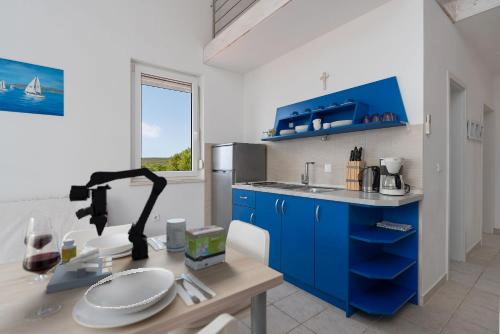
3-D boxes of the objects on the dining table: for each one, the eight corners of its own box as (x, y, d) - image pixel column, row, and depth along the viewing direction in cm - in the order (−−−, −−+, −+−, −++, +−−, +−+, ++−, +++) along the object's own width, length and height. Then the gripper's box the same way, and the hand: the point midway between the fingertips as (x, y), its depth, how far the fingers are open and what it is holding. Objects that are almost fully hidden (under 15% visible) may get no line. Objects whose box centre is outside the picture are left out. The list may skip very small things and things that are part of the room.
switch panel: (111, 262, 108) (111, 249, 108) (112, 279, 91) (112, 264, 91) (57, 271, 98) (57, 257, 98) (47, 293, 82) (46, 276, 82)
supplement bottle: (68, 264, 106) (68, 242, 105) (58, 263, 107) (57, 241, 107) (79, 259, 111) (79, 238, 111) (69, 259, 112) (69, 237, 112)
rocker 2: (99, 257, 99) (98, 253, 99) (98, 260, 96) (97, 255, 96) (69, 266, 94) (68, 262, 94) (67, 270, 91) (66, 266, 91)
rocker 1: (99, 251, 104) (98, 247, 104) (99, 254, 101) (97, 250, 101) (72, 262, 99) (70, 258, 99) (70, 265, 96) (69, 261, 96)
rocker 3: (97, 268, 94) (98, 263, 94) (97, 271, 90) (98, 266, 91) (65, 267, 89) (67, 262, 89) (64, 270, 86) (65, 265, 86)
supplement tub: (163, 248, 125) (163, 219, 125) (181, 244, 131) (181, 217, 131) (170, 254, 117) (170, 223, 117) (189, 249, 123) (188, 220, 123)
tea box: (195, 271, 98) (195, 234, 98) (184, 264, 106) (184, 229, 105) (226, 261, 108) (226, 228, 108) (213, 255, 116) (213, 224, 115)
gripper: (79, 198, 111) (79, 233, 111) (73, 204, 94) (74, 245, 95) (107, 197, 116) (108, 229, 116) (107, 202, 100) (107, 240, 100)
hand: (99, 235), depth 107 cm, fingers closed
